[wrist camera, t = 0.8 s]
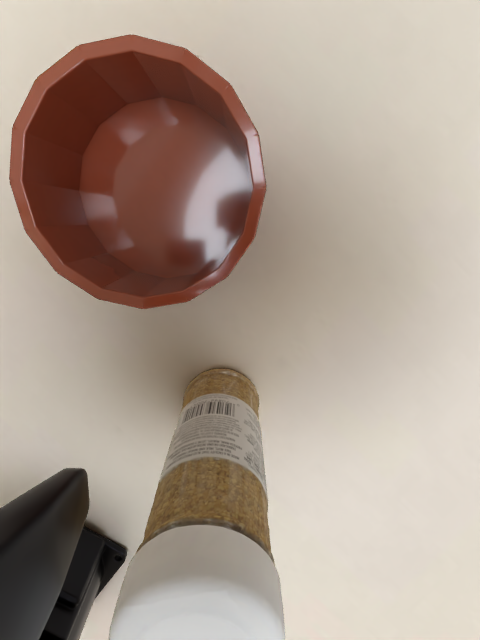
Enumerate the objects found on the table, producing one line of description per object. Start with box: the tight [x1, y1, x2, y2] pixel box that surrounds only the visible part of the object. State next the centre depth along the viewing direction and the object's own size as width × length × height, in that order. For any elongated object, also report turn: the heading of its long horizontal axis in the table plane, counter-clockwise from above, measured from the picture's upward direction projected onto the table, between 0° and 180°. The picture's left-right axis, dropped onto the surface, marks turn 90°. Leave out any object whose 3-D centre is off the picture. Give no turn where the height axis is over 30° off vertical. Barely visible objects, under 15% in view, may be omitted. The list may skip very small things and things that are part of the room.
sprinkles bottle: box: [109, 368, 285, 640], centre depth 16 cm, size 5×5×14 cm
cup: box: [9, 35, 266, 309], centre depth 16 cm, size 9×9×6 cm
